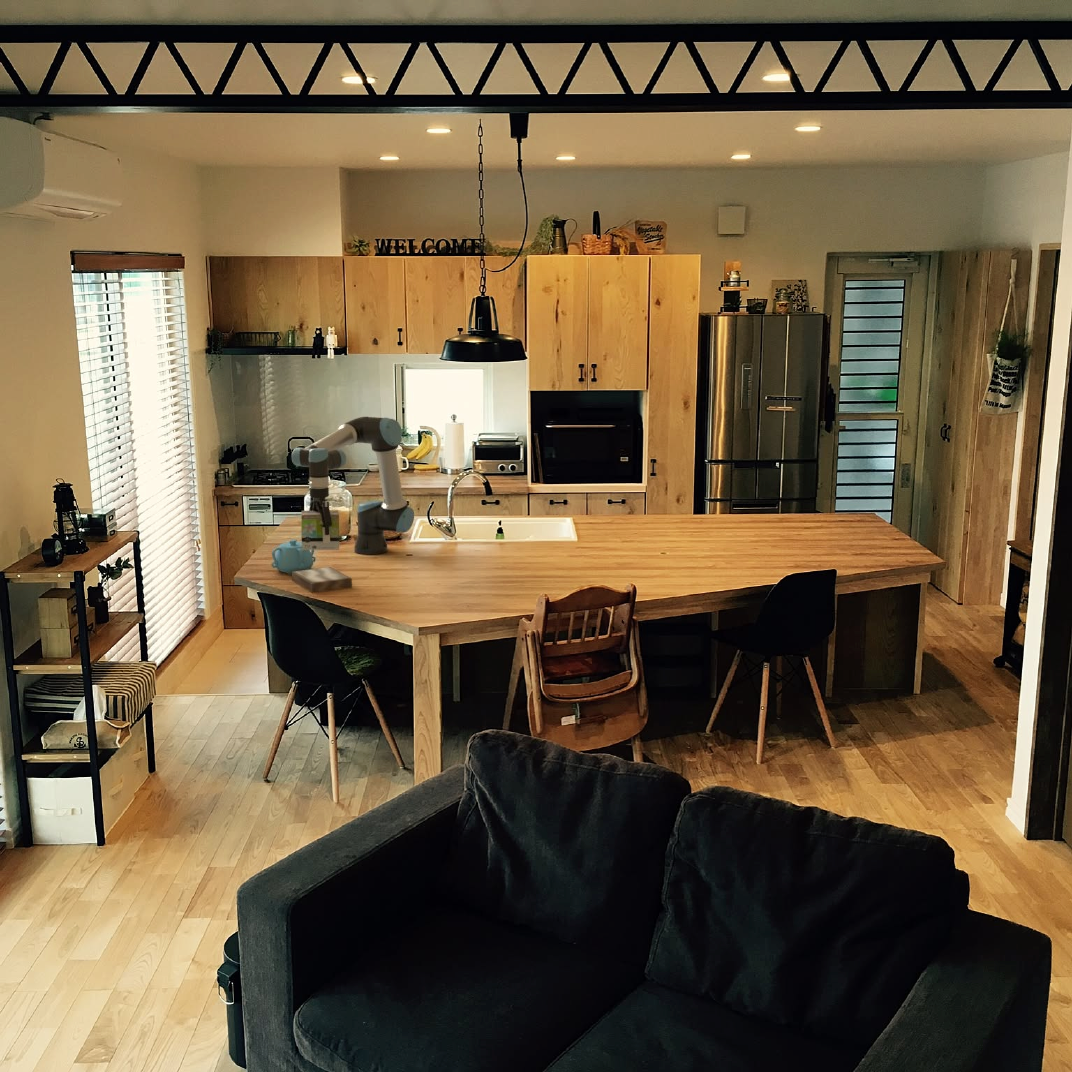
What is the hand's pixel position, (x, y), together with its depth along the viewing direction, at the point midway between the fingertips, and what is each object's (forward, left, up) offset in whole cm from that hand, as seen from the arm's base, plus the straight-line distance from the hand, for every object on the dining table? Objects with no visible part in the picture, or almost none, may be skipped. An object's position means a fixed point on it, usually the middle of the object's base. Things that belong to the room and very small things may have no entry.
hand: (320, 539), depth 462 cm
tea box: (0, 0, -4) cm, 4 cm away
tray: (0, 0, -19) cm, 19 cm away
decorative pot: (+2, -26, -19) cm, 32 cm away
